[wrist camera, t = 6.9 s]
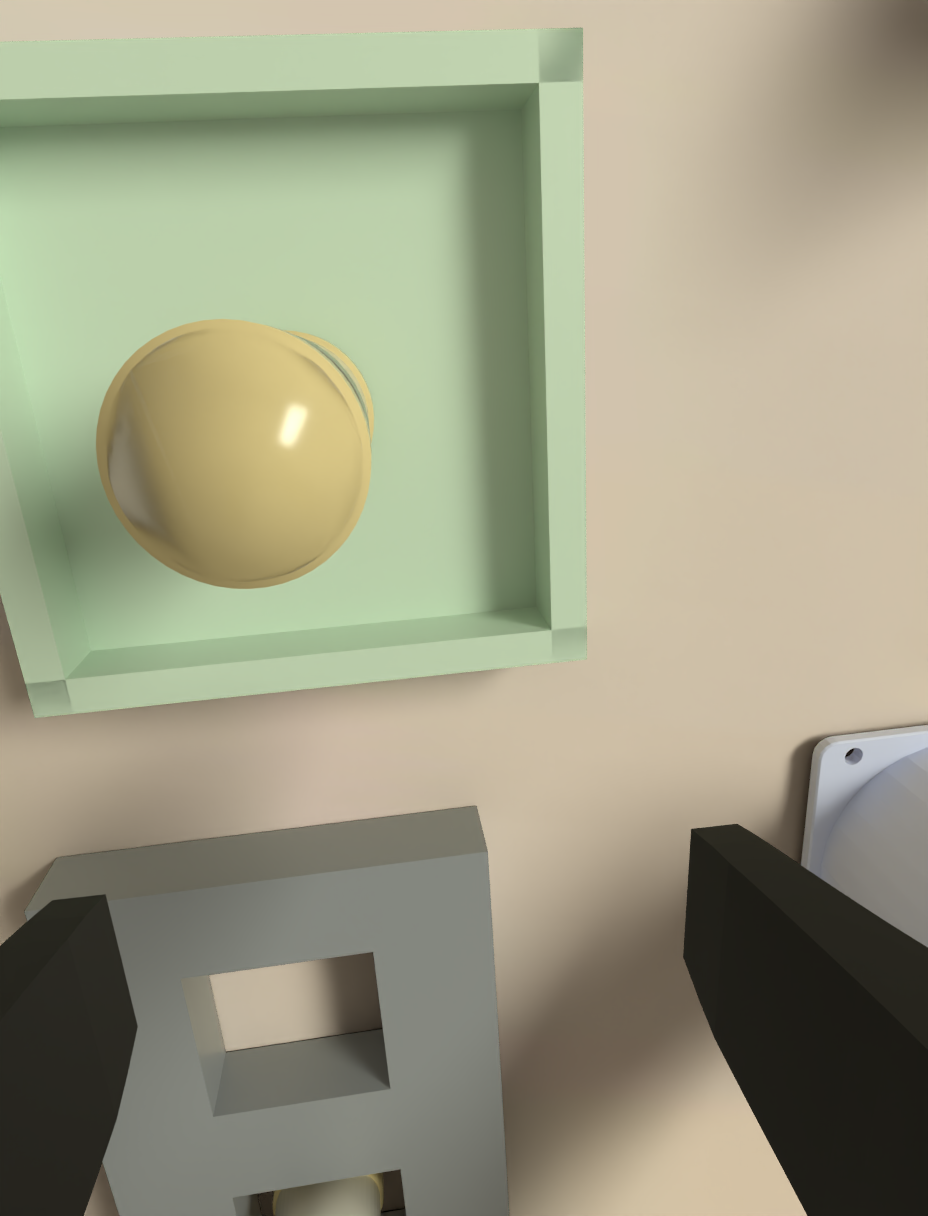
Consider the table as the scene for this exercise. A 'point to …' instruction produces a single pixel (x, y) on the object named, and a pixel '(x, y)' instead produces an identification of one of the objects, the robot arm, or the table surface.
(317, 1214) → the fuse
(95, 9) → the table surface
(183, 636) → the parts tray
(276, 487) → the banded cream cylinder
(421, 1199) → the fuse block
